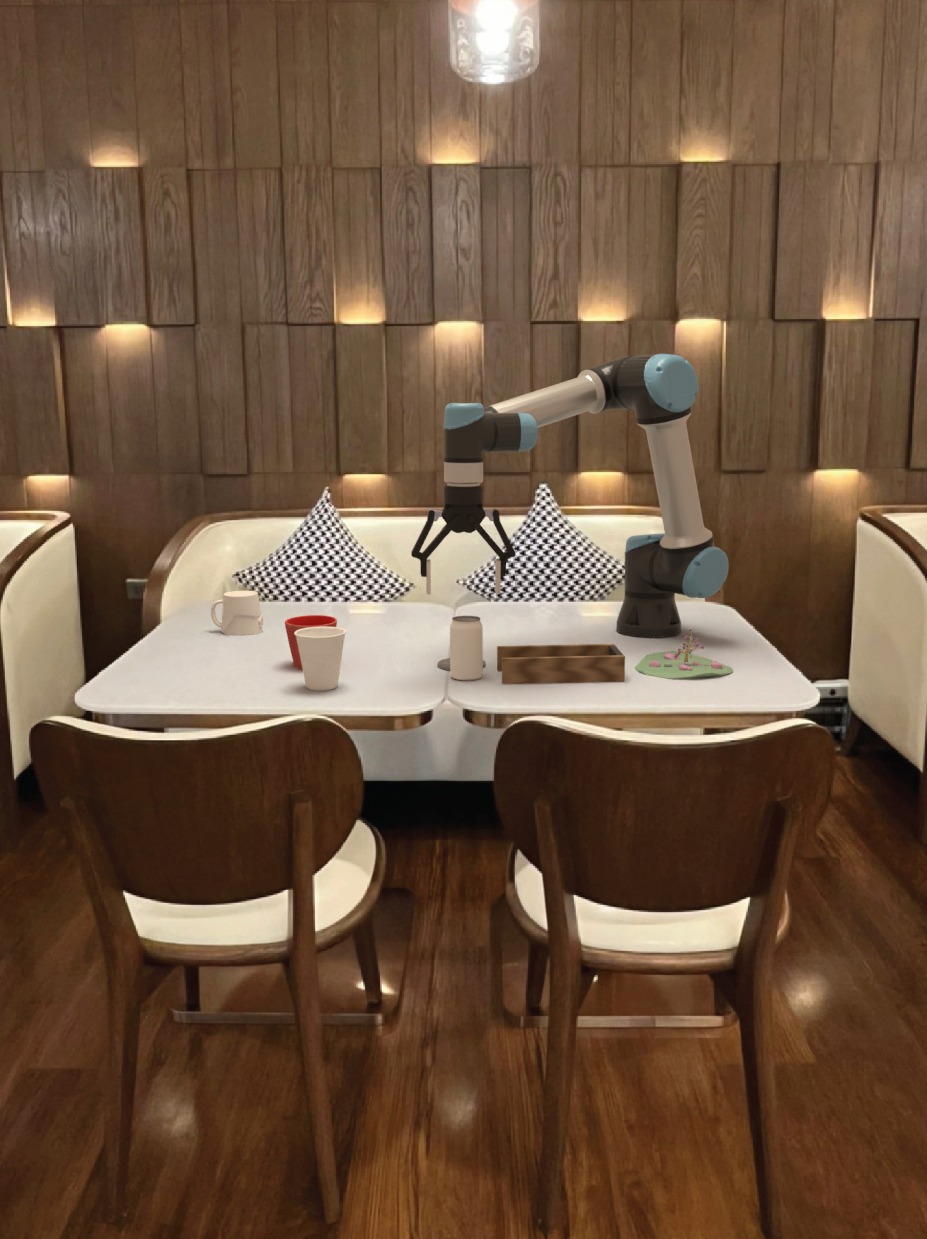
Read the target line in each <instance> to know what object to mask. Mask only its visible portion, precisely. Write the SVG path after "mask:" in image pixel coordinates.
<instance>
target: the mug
mask: <svg viewBox="0 0 927 1239" xmlns="http://www.w3.org/2000/svg"><path fill="white" fill-rule="evenodd" d="M219 604H222V613H221V614H222V615H221V621H219V620H218V618H217V615H216V607H217V605H219ZM261 611H262V610H261V604H260V599H259V593H258V592H257V591H254V590H233V591H227V592H224V593H223V598H221V599H217V600H216V601H214V602H213V603H212V604H211V607H210V616H211V620H212V622H213V623H214V625H216V627H218V628H220V632H221V633H222V634H224V635H226V636H240V637H241V636H254V635H259V634H262V633H264V631H263V626H264V617H263V616H261V615H262V612H261Z"/></svg>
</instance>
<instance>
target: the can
mask: <svg viewBox="0 0 927 1239" xmlns="http://www.w3.org/2000/svg"><path fill="white" fill-rule="evenodd" d="M451 620H452V622H451V623H450V627H449V643H450V644H449V655H450V656H449V658H450V671H449V672H450V673H449V674H450V677H451V678H452V677H453V678H452V679H453V680H455V679H456V681H460V680H461V682H463V681H464V682H471V681H477V680H476V679H478V680H479V679H481V678H482V677H483V673H484V672H483V670H484V668H483V660H484V658H483V657H484V655H483V653H484V651H483V649H484V646H483V645H484V643H483V642H484V638H483V635H484V634H483V632H484V631H483V630H484V629H483V624H482V622H481V617H480V616H476V615H457V616H454V617H452V618H451ZM468 680H470V681H468Z"/></svg>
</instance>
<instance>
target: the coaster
mask: <svg viewBox="0 0 927 1239" xmlns="http://www.w3.org/2000/svg"><path fill="white" fill-rule="evenodd" d="M486 665H487V664H486V661H485V660H484V659H483V669H484V668H486ZM437 668H438V669H440V670H442V671H443V670H444V671H449V672H450V657H447V658H444V659H441V660H439V661H437Z"/></svg>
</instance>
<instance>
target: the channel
mask: <svg viewBox="0 0 927 1239" xmlns="http://www.w3.org/2000/svg"><path fill="white" fill-rule="evenodd" d="M496 646H497V647H496V671H497V670H498V671H497V672H501V684H502V685H519V684H521V685H522V684H523V685H524V684H564V683H565V684H566V683H567V684H568V683H572V684H573V683H609V682H610V683H611V682H612V683H613V682H625V676H626V675H625V673H626V672H625V670H626V669H625V668H626V667H625V666H626V657H625V655H624V653H623V652H622V651H621V650H620V649H619V648H618V647H617V646H616V645H615V643H593V644H592V643H590V644H588V643H587V644H585V643H584V644H583V643H581V644H540V645H539V644H535V645H534V644H533V645H529V644H528V645H527V644H526V645H496Z"/></svg>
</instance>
